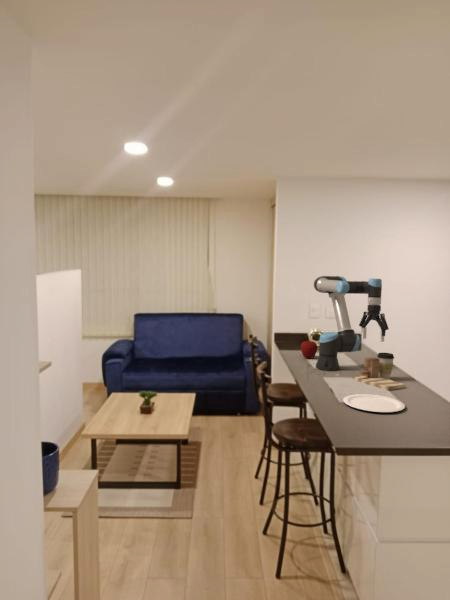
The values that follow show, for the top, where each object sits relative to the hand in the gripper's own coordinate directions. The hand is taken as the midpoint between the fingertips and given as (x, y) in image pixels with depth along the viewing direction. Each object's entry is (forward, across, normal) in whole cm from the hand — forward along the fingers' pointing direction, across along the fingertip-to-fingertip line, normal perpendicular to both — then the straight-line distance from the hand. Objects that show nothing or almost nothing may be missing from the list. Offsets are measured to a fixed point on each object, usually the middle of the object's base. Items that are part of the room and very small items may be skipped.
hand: (372, 340), depth 285 cm
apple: (+22, -63, +6) cm, 67 cm away
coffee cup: (+24, +2, +9) cm, 26 cm away
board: (+24, +9, -5) cm, 26 cm away
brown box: (+22, +1, -5) cm, 22 cm away
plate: (+25, +36, -40) cm, 60 cm away
